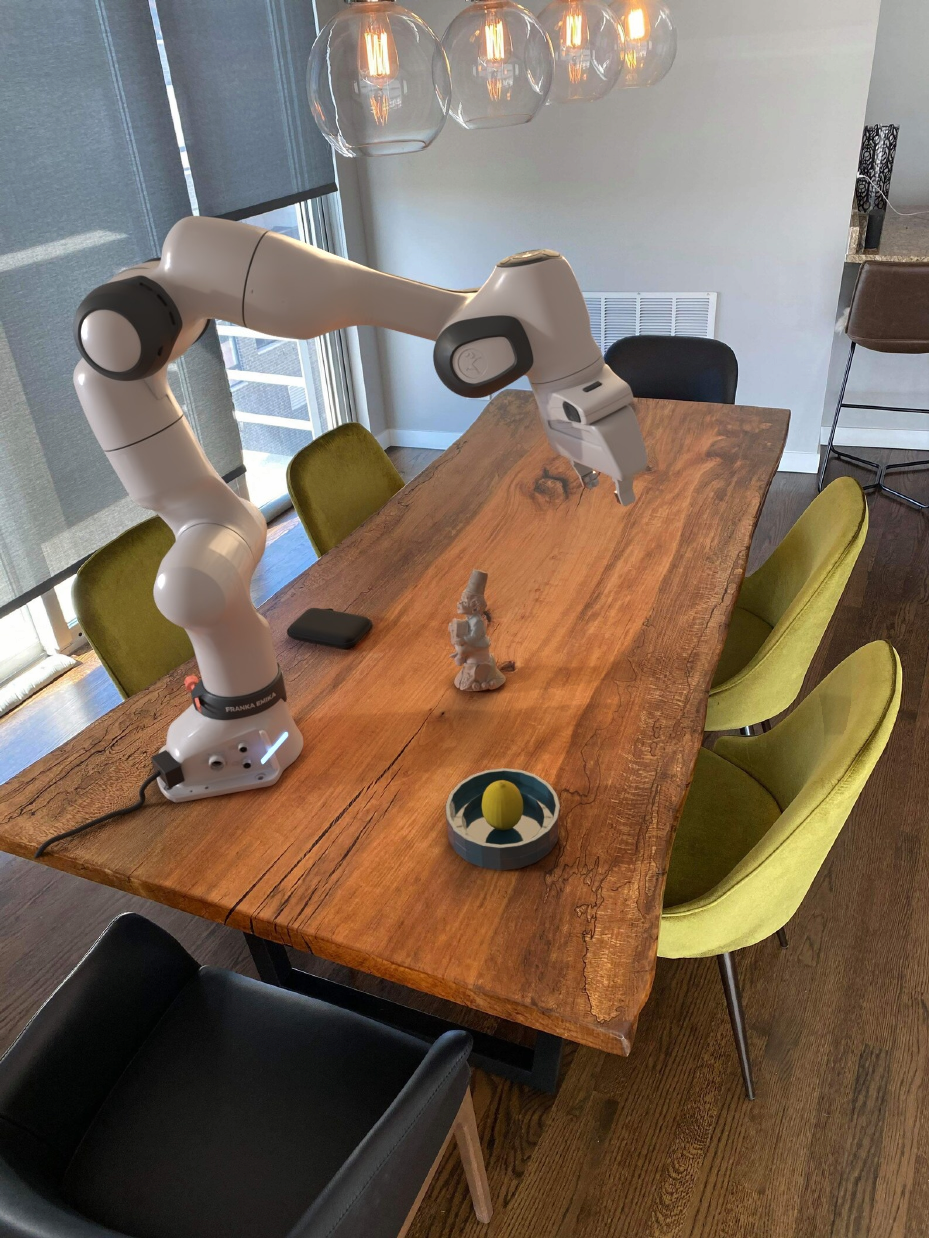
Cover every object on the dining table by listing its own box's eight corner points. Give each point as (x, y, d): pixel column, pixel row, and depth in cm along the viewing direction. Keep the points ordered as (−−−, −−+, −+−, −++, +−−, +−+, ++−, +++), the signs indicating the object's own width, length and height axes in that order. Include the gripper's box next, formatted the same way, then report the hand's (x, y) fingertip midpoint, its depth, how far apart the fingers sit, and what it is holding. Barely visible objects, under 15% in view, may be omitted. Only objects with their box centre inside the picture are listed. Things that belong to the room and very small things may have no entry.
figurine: (494, 662, 159) (489, 561, 149) (511, 688, 152) (506, 584, 142) (445, 674, 157) (436, 571, 147) (460, 700, 150) (451, 595, 140)
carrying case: (380, 625, 172) (313, 613, 178) (378, 611, 171) (311, 600, 176) (352, 655, 164) (283, 641, 170) (350, 641, 163) (281, 627, 168)
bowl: (474, 887, 116) (472, 862, 114) (431, 813, 128) (429, 788, 126) (580, 849, 121) (580, 823, 118) (528, 780, 133) (528, 756, 130)
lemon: (527, 816, 126) (526, 772, 121) (518, 845, 121) (517, 800, 117) (488, 810, 127) (486, 766, 123) (478, 839, 123) (475, 794, 118)
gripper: (516, 391, 115) (552, 488, 121) (588, 414, 97) (626, 526, 103) (559, 370, 116) (592, 467, 122) (638, 388, 98) (673, 500, 104)
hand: (608, 494), depth 112 cm, fingers open, 8 cm apart
